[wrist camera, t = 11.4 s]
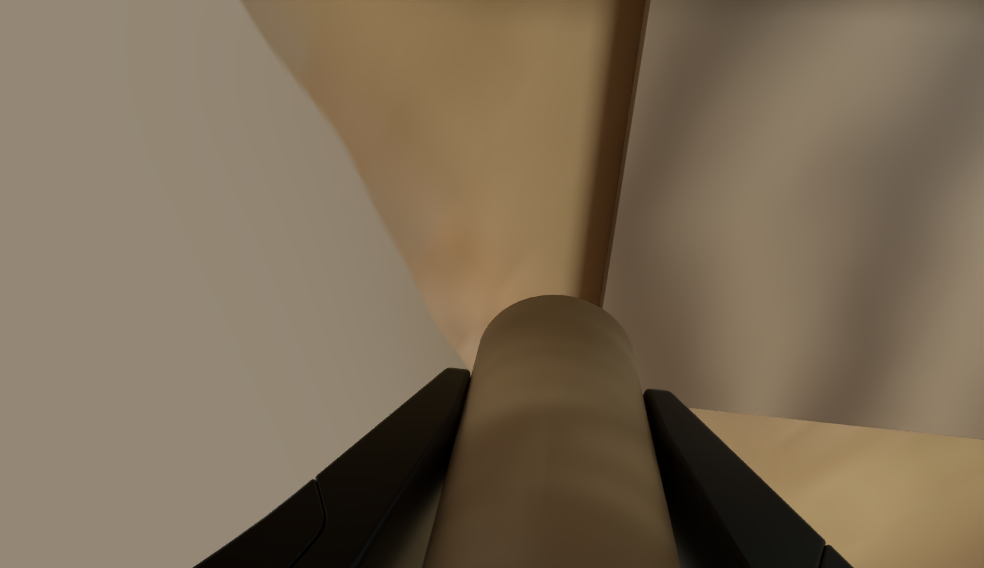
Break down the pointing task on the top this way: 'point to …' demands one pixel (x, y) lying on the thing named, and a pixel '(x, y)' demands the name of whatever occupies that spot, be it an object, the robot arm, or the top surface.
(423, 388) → the robot arm
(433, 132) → the top surface
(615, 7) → the top surface
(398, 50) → the top surface
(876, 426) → the board
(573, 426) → the oak dowel
